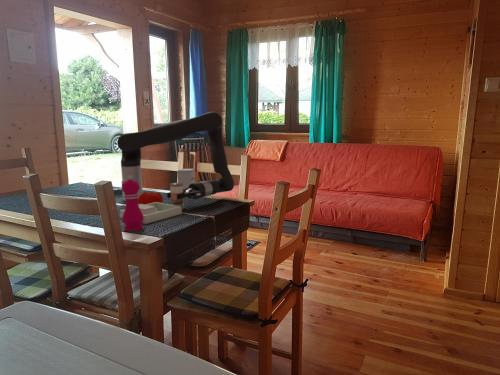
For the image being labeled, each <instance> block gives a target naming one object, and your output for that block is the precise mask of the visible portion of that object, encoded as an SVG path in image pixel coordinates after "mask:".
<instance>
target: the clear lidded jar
mask: <svg viewBox="0 0 500 375" xmlns="http://www.w3.org/2000/svg"><path fill="white" fill-rule="evenodd" d="M169 192H170V195H171V198H170V205H176V206H181V208H182V210H184V209H185V203H184V202H185V201H184V199H185V198H183V199H177V194H180V193H183V183H178V182H171V183H169Z"/></svg>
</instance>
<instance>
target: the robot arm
mask: <svg viewBox="0 0 500 375" xmlns="http://www.w3.org/2000/svg"><path fill="white" fill-rule="evenodd" d="M222 130H223V119H222V115H220V114H219V113H218V112H217V111H209V112H206V113H203V114H201V115H198V116H195V117H190V118H186V119H180V120H175V121H170V122H167V123H163V124H159V125H156V126H154V127H151V128H149V129H146V130H142V131H137V132H126V133H122V134H121V135H120V136H119V137H118V138H117V144H116V145H117V147H118V149H119V150H121V158H120V159H121V160H120V168H121V185H122V184H123V183H124V182H125V181H127V180H128V179H127V177H128V176H132V177H133V179H132V180H135V181H137V182H138V183H139V187H140V188H139V191H138V192H137V193H138V196H140V195H141V194H142V193H144V192H143V178H142V177H143V176H142V166H141V162H142V161H141V159H142V152H141V150H142V149H143V148H145V147H149V146H154V145H161V144H166V143H167V144H168V143H173V142H175V141H176V142H177V141H180V140H182V139H185V138H187V137H190V136H192V135H193V134H197V133H201V132H206V133H207V135H208V138H209V142H210V150H211V159H212V160H211V161H212V167H213V171H214V173H215V174H219V175H220V176H221V177H220V178H216V179H215V178H214V179H210V180H202V181H197V182H196V181H195V183H192V184H190V185H189V187H188V188H184V189H183V193H180V194H177V199H183V198H184V199H186V200H187V199H190V200H191V199H192V200H194V201H195V200H199V199H205V198H207V197H210V196H213V195H217V194H218V193H224V192H230V191H232V190H233V189H234V187H235V181H234V178H233V176H232V174H231V171H230V169H229V167H228V160H227V159H228V158H227V154H226V151H225V147H224V146H225V145H224V142H223V131H222ZM141 148H142V149H141ZM121 192H122V194H121V195H122V200H123V202H126V200H125V198H124V194H125V193H124V192H123V191H122V190H121ZM138 198H139V197H138ZM166 198H168V199H171V195H170V191H169V192H167V193H166Z"/></svg>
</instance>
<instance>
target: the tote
mask: <svg viewBox="0 0 500 375" xmlns="http://www.w3.org/2000/svg"><path fill="white" fill-rule="evenodd" d="M145 205H150V206H155V208H157V212H156V213H152V214H148V215H143V218H144V220H143V222H142V223H141V224H146V225H147V224H150V223H153V222H157V221H160V220H164V219H168V218H172V217H175V216H179V215H182V214H183V211H182V208H181V206H176V205H171V203H169V204H168V203H164V202H163V203H159V202H154V203H150V204H145ZM124 211H125V209H119V214H120V215H119V217H120V218H121V219H122V217H123V214H124Z"/></svg>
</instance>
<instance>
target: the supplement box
mask: <svg viewBox="0 0 500 375" xmlns="http://www.w3.org/2000/svg"><path fill="white" fill-rule="evenodd" d="M177 183H183V189H184V188H188V187H189V185H190V184H192V183H196V178H195V168H181V169H178V170H177Z"/></svg>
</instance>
